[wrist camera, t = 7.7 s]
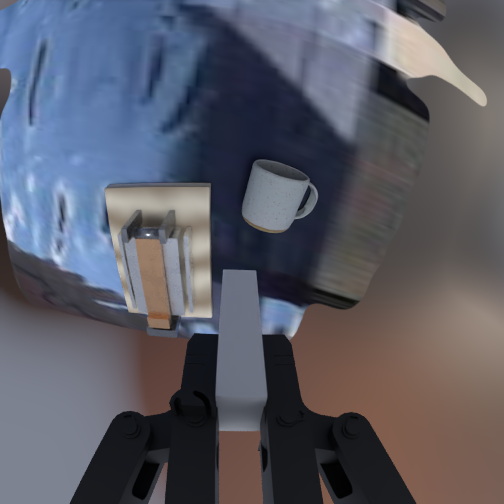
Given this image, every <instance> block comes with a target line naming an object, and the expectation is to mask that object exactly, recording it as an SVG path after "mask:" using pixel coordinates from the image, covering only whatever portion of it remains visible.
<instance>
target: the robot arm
mask: <svg viewBox="0 0 504 504" xmlns="http://www.w3.org/2000/svg"><path fill="white" fill-rule="evenodd" d="M169 404H170V407H171V410H169V411H167V412H166V413H162V414H157V415H151V416H145V417H144V416H143V415H141V414H140V413H138V412H133V411H127V412H122V413H120V414H118V415H117V416H116V417H115V418H114V419H113V420H112V422H111V424H110V426H109V428H108V430H107V432H106V433H105V435H104V437H103V439H102V441H101V443H100V445H99V447H98V448H97V450H96V452H95V454H94V456H93V458H92V460H91V462H90V464H89V466H88V468H87V470H86V472H85V474H84V476H83V477H82V480H81V481H80V484H79V486H78V488H77V490H76V492H75V494H74V496H73V498H72V500H71V502H70V504H148V502H149V500H150V497H151V495H152V493H153V490H154V488H155V485H156V483H157V480H158V478H159V475H160V473H161V470H162V468H163V465H164V463H165V462H168V470H167V481H166V493H165V504H219V430H222V431H259V430H260V431H261V441H260V444H259V449H258V451H260V457H261V474H262V490H263V504H323V498H322V492H321V485H320V478H319V473H320V475H321V477H322V480H323V482H324V484H325V486H326V488H327V490H328V492H329V494H330V496H331V499H332V501H333V503H334V504H416V502H415V500H414V499H413V497H412V495H411V493H410V492H409V490H408V488H407V486H406V485H405V483H404V481H403V479H402V478H401V476H400V474H399V472H398V471H397V469H396V467H395V466H394V464H393V462H392V461H391V459H390V457H389V455H388V454H387V452H386V450H385V449H384V447H383V445H382V443H381V442H380V440H379V438H378V437H377V435H376V433H375V432H374V430H373V428H372V426H371V425H370V423H369V421H368V420H367V419H366V418H365V417H364V416H362V415H360V414H358V413H353V412H349V413H344V414H342V415H340V416H339V417H337V418H336V417H331V416H325V415H320V414H317V413H314V412H312V411H311V410H309V409H308V408H307V407H306V406H305V405H304V403H303V402H302V398H301V395H300V389H299V383H298V378H297V372H296V367H295V361H294V357H293V350H292V345H291V343H290V342H289V340H288V339H287V337H286V336H285V335H262V331H261V320H260V310H259V299H258V288H257V277H256V271H249V270H223V281H222V294H221V308H220V323H219V334H200V333H194V335H193V336H192V337H191V339H190V340H189V342H188V344H187V350H186V357H185V365H184V370H183V377H182V384H181V390H178V391H177V392H176V393H175V394H174V395H173V396H172V397H171V400H170V402H169ZM318 471H319V472H318Z"/></svg>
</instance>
